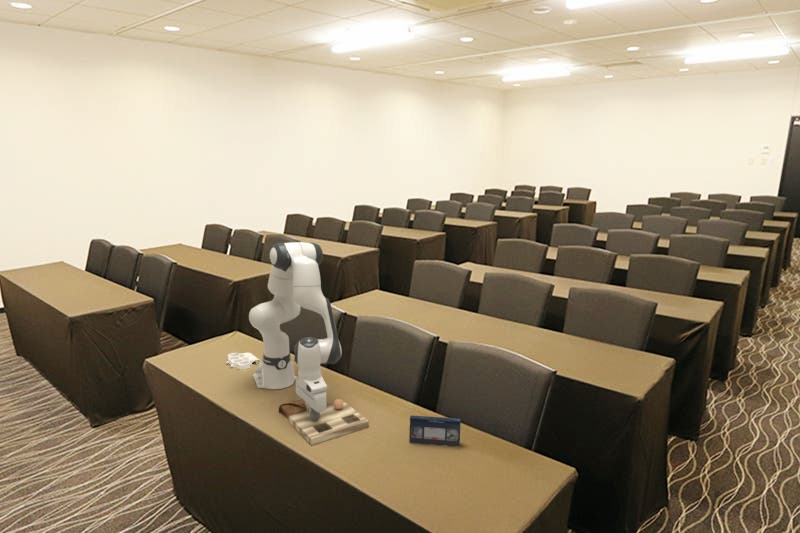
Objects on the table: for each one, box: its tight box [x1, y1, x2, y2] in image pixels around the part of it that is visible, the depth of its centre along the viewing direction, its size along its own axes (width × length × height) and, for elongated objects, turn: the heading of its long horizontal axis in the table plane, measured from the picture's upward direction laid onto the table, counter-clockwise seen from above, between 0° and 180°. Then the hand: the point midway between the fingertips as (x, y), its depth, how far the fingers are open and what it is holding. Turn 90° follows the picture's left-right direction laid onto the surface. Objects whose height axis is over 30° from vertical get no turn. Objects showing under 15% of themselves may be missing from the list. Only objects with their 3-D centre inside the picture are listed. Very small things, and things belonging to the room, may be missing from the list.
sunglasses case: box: [278, 398, 307, 420], centre depth 211 cm, size 18×7×7 cm, turn 130°
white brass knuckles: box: [224, 352, 262, 370], centre depth 256 cm, size 3×18×15 cm
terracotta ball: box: [332, 398, 344, 409], centre depth 207 cm, size 4×4×4 cm
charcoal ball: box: [310, 410, 320, 421], centre depth 197 cm, size 4×4×4 cm
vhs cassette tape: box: [408, 415, 462, 447], centre depth 187 cm, size 18×3×10 cm, turn 82°
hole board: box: [288, 400, 370, 446], centre depth 199 cm, size 20×24×2 cm
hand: (310, 413), depth 200 cm, fingers closed
